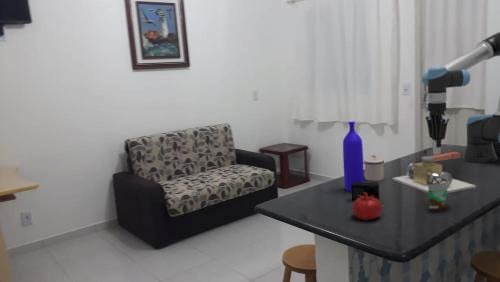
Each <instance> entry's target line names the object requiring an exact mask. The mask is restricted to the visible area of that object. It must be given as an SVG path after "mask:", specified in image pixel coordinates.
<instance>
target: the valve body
mask: <svg viewBox="0 0 500 282" xmlns="http://www.w3.org/2000/svg"><path fill="white" fill-rule="evenodd" d="M405 174H406V175H407V176H409V177H412V178H414V182H417V183H420V184H422V185H425V186H429V184H431V181H432V180H433V176H438V177H443V178H446V179H447V180H448V182H449V185H450V184H451V182H452V179H453V177H452V174H451V172H450V173H449V172H447V171H443V164H441V163H437V162H432V163H423V162H422V161H421V162H418V163H415V162H410V163H409V164H407V165H406V167H405Z"/></svg>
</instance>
